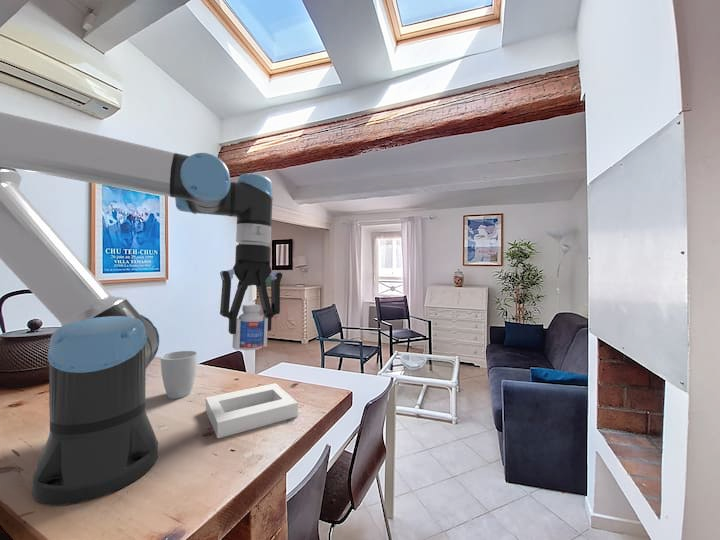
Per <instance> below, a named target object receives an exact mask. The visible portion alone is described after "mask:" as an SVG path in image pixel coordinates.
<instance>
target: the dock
mask: <svg viewBox="0 0 720 540" xmlns="http://www.w3.org/2000/svg"><path fill="white" fill-rule="evenodd" d="M298 405H299V403H298V402H297V401H296V399H294V398H293V397H292V396H291V395H290V394H289V393H288V392H287V391H285V390H284V389H283V388H282V387H281V386H279V385H278V384H277V383H270V384H265V385H260V386H256V387H251V388H246V389H240V390H235V391H231V392H227V393H221V394H216V395H212V396H211V395H210V396H206V397H205V413H206V414H207V418H208V420H209V422H210V424H211V426H212V428H213V431H214V433H215V435H216V438H217V439H221V438H225V437H229V436H232V435H236V434H239V433H243V432H246V431H251V430H254V429H258V428H261V427H265V426H270V425H272V424H276V423H279V422H283V421H287V420H290V419H294V418H296V417H297V418H298V417H299V414H298V413H299V406H298Z"/></svg>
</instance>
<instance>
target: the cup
mask: <svg viewBox="0 0 720 540" xmlns="http://www.w3.org/2000/svg"><path fill="white" fill-rule="evenodd" d="M159 360H160V367H161V368H160V369H161V370H160V371H161V377H162V383H163V387H164V390H165V393H166V396H167V397H168V398H169V399H179V398H180V399H181V398H184V397H187V396H189V395H191V393H192V389H193V387H194V385H195V379H196V374H197V364H198V363H197V362H198V352H197V351H194V350H180V351H173V352H169V353H165V354H162V355H161V356H160V359H159Z"/></svg>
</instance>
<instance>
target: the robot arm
mask: <svg viewBox="0 0 720 540" xmlns="http://www.w3.org/2000/svg"><path fill="white" fill-rule="evenodd" d="M17 170H18V171H24V172H30V173H35V174H41V175H46V176H50V177H51V176H52V177H59V178H64V179H69V180H74V181H81V182H86V183H91V184H98V185H101V186H107V187H108V186H109V187H114V188H119V189H125V190H131V191H136V192H143V193H147V194H153V195H159V196H163V197H164V196H165V197H171V198H174V199H175V207H176V209H177V210H178V211H180V212H186V213H190V214H191V213H192V214H194V215H197V214H201V215H215V216H222V217H223V216H224V217H225V216H226V217H234V218H236V231H235V233H236V234H235V235H236V237H235V241H236V242H237V245H236V246H235V262H234V266H233V267H232V269H228V270H221V271H220V272H219V275H220V278H221V281H222V282H221V283H222V284H221V296H220V307H219V308H220V310H219V315H220V316H222V317H224V318H227V319H228V333H229V334H230V335H232V349H234V350H236V351H237V350H239V351H240V324H241V320H240V319H239V316H238V315H239V313H240V310H241V308H242V305H243V301H244V297H245V294H246V291H247V290H248V287H249V286H255V287H256V289H257V291H258V292H257V293H258V296H259V300H260V305H261V310H262V313H263V339H262V348H264V347H268V332H269V331H270V332H271V330H272V319H273V318H274V317H275V316H277V315H279V314H280V313H281V281H282V278H283V272H277V271H275V270H272V269H273V268H272V267H271V250H272V249H271V247H270V246H269V245H270V244H271V243H272V220H273V219H272V216H273V215H272V214H273V200H274V197H273V182H272V180H271V179H270V178H268V177H267V176H265V175H262V174H257V173H243V174H240V175H239V176H238V180H237V181H231V175H230V171H229V169H228V166H227V165H226V163H225V162H223V160H221V158H219V157H217V156H216V155H214V154H212V153H208V152H196V153H194V154H190V155H188V154H187V155H186V154H182V153H176V152H172V151H169V150H165V149H164V150H163V149H159V148H154V147H150V146H146V145H143V144H137V143H135V142H129V141H125V140H121V139H117V138H113V137H108V136H104V135H100V134H96V133H91V132H86V131H82V130H79V129H74V128H70V127H67V126H63V125H58V124H54V123H48V122H45V121H40V120H37V119H32V118H27V117H23V116H19V115H15V114H11V113H7V112H3V111H0V260H1V261H2V262H3V263H4V264H5V266H6V267H7V268H8V269H9V270H10V271H11V272H12V273H13V274H14V275H15V276H16V277H17V278H18V279H19V281H21V282H22V283H23V285H24V286H26V288H27V289H28V290H29V291H30V292H31V293H32V295H34V296H35V297H36V298H37V299H38V300H39V301H40V303H41V304H43V306H44V307H45V308H46V309H47V311H49V312H50V313H51V314H52V315H53V316H54V318H56V320H57V321H58V322H60V325H61V327H59V328H57V329H56V330H55V331H54V332H53V333H52V334H51V337H50V341H49V347H48V350H47V361H48V381H49V383H48V387H49V388H48V389H49V390H48V392H49V397H48V398H49V433H48V436H47V437H48V438H47V440H46V442H45V445H44V448H43V450H42V453H41V456H40V458H39V460H38V463H37V465H36V468H35V471H34V474H33V477H32V498H33V500H34V501H35V502H37V503H39V504H43V505H49V506H64V505H72V503H73V504H76V503H83V502H87V501H90V500H93V499H97V498H100V497H103V496H105V495H106V496H107V495H108V494H110V493H112V492H116V491H117V490H120V489H122V488H124V487H126V486H128V485H130V484H131V483H133V482H135V481H136V480H138V479H139V478H141V477H142V476H144V475H145V474H146V473H147V472H148V471H150V470H151V468H152V467H154V465H155V463H156V462H157V460H158V457H159V442H158V439H157V436H156V434H155V431H154V429H153V427H152V424H151V422H150V419H149V417H148V414H147V411H146V370H147V368H148V367H149V365H150V364H151V362H153V360H154V359H155V357H156V355H157V353H158V351H159V348H160V347H159V346H160V334H159V331H158V328H157V327H156V325H155V323H154V322H153V321H152V320H151V319H150V318H148V317H146V316H145V315H143V314H140V313H139V312H138V311H137V310H136V308H134V306H133V305H132V304H131V303H130V302H129V300H128V299H127V298H126V297H121V296H115V295H111V294H110V292H109V291H108V290H107V289H106V288H105V286H104V285H103V283H101V282H100V281H99V279H98V278H96V276H95V275H94V274H93V273H92V271H90V269H89V268H88V267H87V265H85V263H84V262H83V261H82V260H81V259H80V257H79V256H78V255H77V254H76V253H75V252H74V251H73V249H72V248H71V247H70V246H69V245H68V244H67V243H66V241H65V240H64V239H63V238H62V237H61V236H60V234H58V232H57V231H56V230H55V229H54V228H53V226H52V225H51V224H50V223H49V222H48V221H47V219H46V218H44V216H43V215H42V214H41V213H40V211H38V209H37V208H36V207H35V206H34V205H33V203H32V202H31V201H30V200H29V199H28V198H27V197H26V195H25V194H24V193H23V191H22V190H20V189H19V187H20V184H21V181H22V175H20V173H19V172H18V171H17ZM234 275H235V277H236V279H237V280H238V284H237V288H236V292H235V293H234V297H233V301H232V304H231V307H230V302H231V290H232V289H231V288H232V280H233V278H234ZM269 276H270V278H269ZM268 278H269V279H270V281H271V283H270V284H271V285H270V298H269V295H268V294H269V293H268V290H267V288H268V286H267V283H266V280H267V279H268Z"/></svg>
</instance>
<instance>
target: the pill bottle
mask: <svg viewBox="0 0 720 540" xmlns="http://www.w3.org/2000/svg"><path fill="white" fill-rule="evenodd" d="M241 308H242V312H243V313H241V314H240V315H239V316H238V319H240V320H241V324H240V349H239V351H241V350H242V351H254V350H259V349H261V348H263V346H262V339H263V317H264V314H263V315H262V313H261V311H262V305H261V304H253V303H251V304H247V303H246V304H242V307H241Z"/></svg>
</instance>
